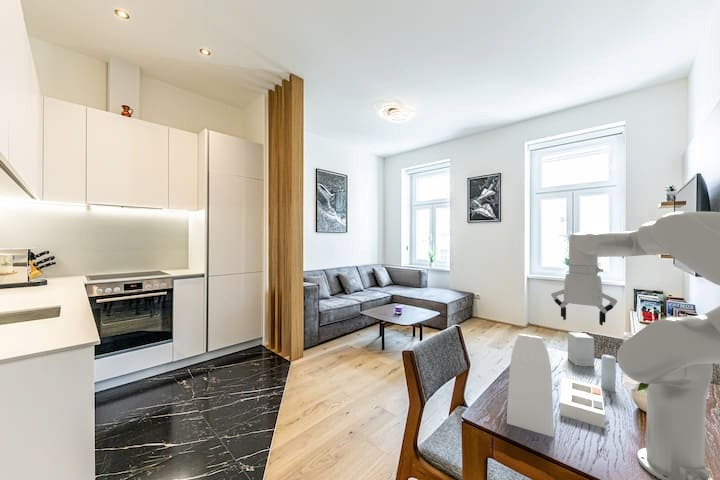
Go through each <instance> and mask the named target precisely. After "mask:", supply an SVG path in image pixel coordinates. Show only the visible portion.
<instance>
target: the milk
mask: <svg viewBox="0 0 720 480" xmlns="http://www.w3.org/2000/svg"><path fill="white" fill-rule="evenodd" d="M547 349H548V348H547V346H546V343H545V342H544V340H543V338H542V336H537V335H530V334H524V333H518V336H517V338H516V340H515V342H514V344H513V348H512V351H511V358H510V363H509V376H508V379H509V380H508V389H507V390H508V392H507V407H506V409H507V410H506V424H507V425H509V426H510V425H511V426H514V427H517V428H521V429H525V430H527V431H528V430H529V431H531V432H535V433H539V434H541V435H545V436H547V437H548V436H549V437H552V438H555V431H554V430H555V428H554V427H555V425H554V405H553V404H554V402H553V400H554V398H553V380H552V379H553V378H552V377H553V376H552V366H551V359H550V355H549V351H548V350H547Z"/></svg>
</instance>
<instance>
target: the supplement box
mask: <svg viewBox="0 0 720 480" xmlns="http://www.w3.org/2000/svg"><path fill="white" fill-rule="evenodd" d="M568 359H569V360H568ZM567 360H568V361H570V362H571V364H573V363H574V365H575V366H576V365H579V366H578V367H587V366H594V367H595V337H593V336H591V335H590V334H588V333H586V332H576V331H575V332H573V331H570V332H567Z"/></svg>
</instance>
